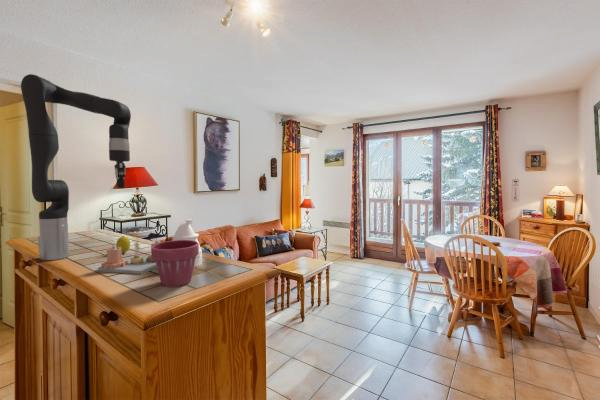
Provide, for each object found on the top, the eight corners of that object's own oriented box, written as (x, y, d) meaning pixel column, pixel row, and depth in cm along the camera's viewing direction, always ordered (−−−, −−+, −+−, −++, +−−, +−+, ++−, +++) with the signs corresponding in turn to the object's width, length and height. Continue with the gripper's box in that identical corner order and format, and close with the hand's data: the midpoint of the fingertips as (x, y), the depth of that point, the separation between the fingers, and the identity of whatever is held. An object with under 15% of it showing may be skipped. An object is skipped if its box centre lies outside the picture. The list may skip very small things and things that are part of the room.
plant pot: (148, 292, 90) (146, 250, 89) (156, 277, 103) (155, 240, 102) (198, 287, 94) (197, 247, 93) (200, 274, 107) (199, 238, 106)
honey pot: (207, 260, 125) (206, 217, 124) (193, 269, 113) (192, 222, 111) (178, 259, 127) (177, 217, 125) (161, 268, 114) (160, 221, 113)
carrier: (98, 271, 110) (97, 247, 109) (134, 258, 128) (133, 237, 127) (142, 274, 106) (141, 249, 106) (173, 260, 124) (173, 239, 124)
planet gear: (95, 268, 109) (95, 250, 109) (113, 262, 117) (113, 245, 117) (115, 269, 108) (115, 251, 107) (132, 263, 116) (132, 246, 115)
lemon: (126, 254, 133) (125, 237, 133) (113, 254, 133) (113, 237, 133) (133, 251, 139) (132, 234, 138) (121, 251, 139) (120, 234, 138)
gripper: (131, 149, 124) (132, 188, 125) (128, 151, 135) (129, 187, 136) (109, 147, 119) (111, 188, 121) (108, 150, 131) (109, 187, 132)
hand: (120, 187), depth 128 cm, fingers open, 8 cm apart
